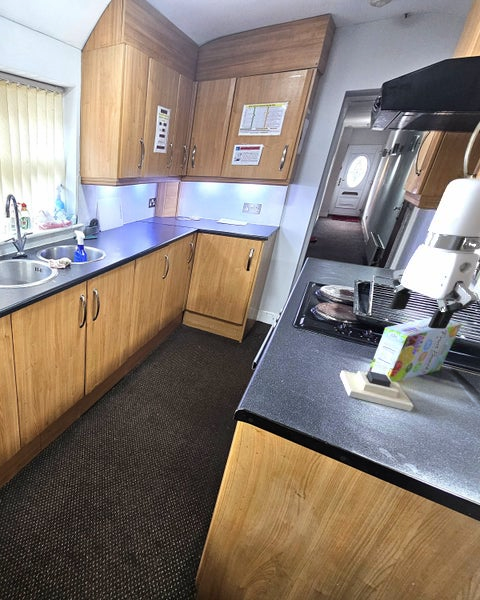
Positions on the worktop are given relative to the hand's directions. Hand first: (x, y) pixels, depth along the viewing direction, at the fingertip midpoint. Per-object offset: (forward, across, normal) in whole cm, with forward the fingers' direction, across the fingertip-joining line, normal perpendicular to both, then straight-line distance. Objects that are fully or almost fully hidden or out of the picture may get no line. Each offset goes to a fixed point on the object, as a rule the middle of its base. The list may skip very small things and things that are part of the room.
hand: (415, 317), depth 73 cm
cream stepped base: (+22, +2, 0) cm, 22 cm away
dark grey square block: (+19, +2, 0) cm, 19 cm away
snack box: (+22, +11, -15) cm, 29 cm away
